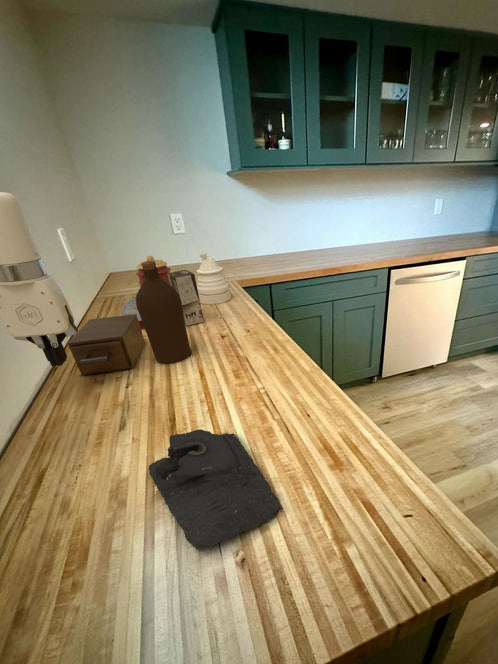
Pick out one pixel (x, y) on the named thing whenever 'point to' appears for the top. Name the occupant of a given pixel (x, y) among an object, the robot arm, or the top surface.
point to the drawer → (100, 356)
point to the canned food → (131, 310)
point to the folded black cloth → (213, 487)
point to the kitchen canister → (160, 266)
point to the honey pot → (212, 282)
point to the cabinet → (113, 335)
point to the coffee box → (187, 295)
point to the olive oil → (162, 316)
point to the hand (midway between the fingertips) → (59, 363)
